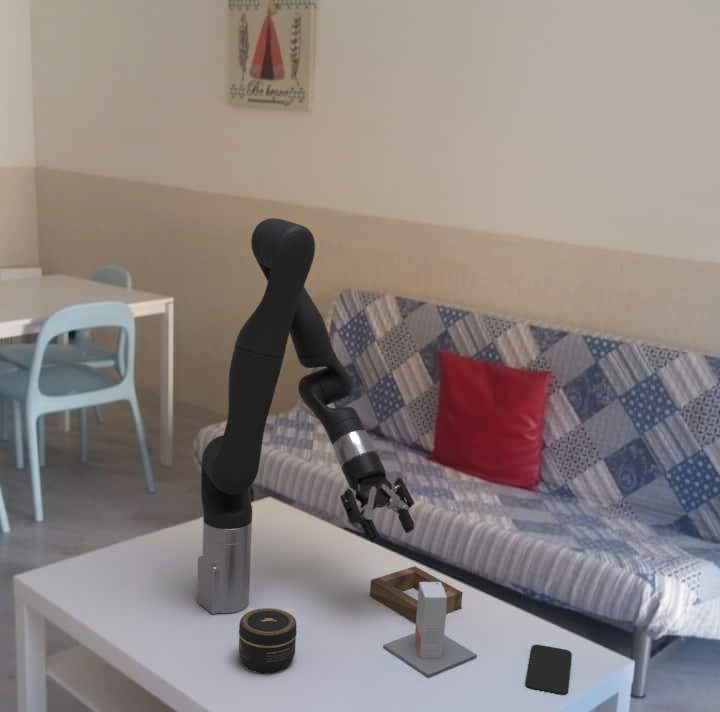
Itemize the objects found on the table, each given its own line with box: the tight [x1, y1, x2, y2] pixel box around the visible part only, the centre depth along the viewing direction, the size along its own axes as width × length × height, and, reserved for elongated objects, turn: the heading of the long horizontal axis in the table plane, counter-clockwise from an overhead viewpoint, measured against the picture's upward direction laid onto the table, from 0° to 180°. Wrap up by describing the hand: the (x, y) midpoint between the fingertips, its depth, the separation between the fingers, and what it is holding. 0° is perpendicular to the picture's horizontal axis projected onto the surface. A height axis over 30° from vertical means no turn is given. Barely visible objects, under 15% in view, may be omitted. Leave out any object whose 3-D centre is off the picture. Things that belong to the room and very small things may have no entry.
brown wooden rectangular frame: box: [369, 566, 463, 625], centre depth 193 cm, size 12×14×4 cm
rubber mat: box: [382, 632, 478, 679], centre depth 175 cm, size 12×12×1 cm
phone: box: [524, 644, 573, 696], centre depth 172 cm, size 7×1×15 cm
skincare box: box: [414, 582, 447, 658], centre depth 173 cm, size 6×4×12 cm
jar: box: [238, 607, 298, 674], centre depth 168 cm, size 10×10×8 cm
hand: (393, 535), depth 180 cm, fingers open, 8 cm apart
